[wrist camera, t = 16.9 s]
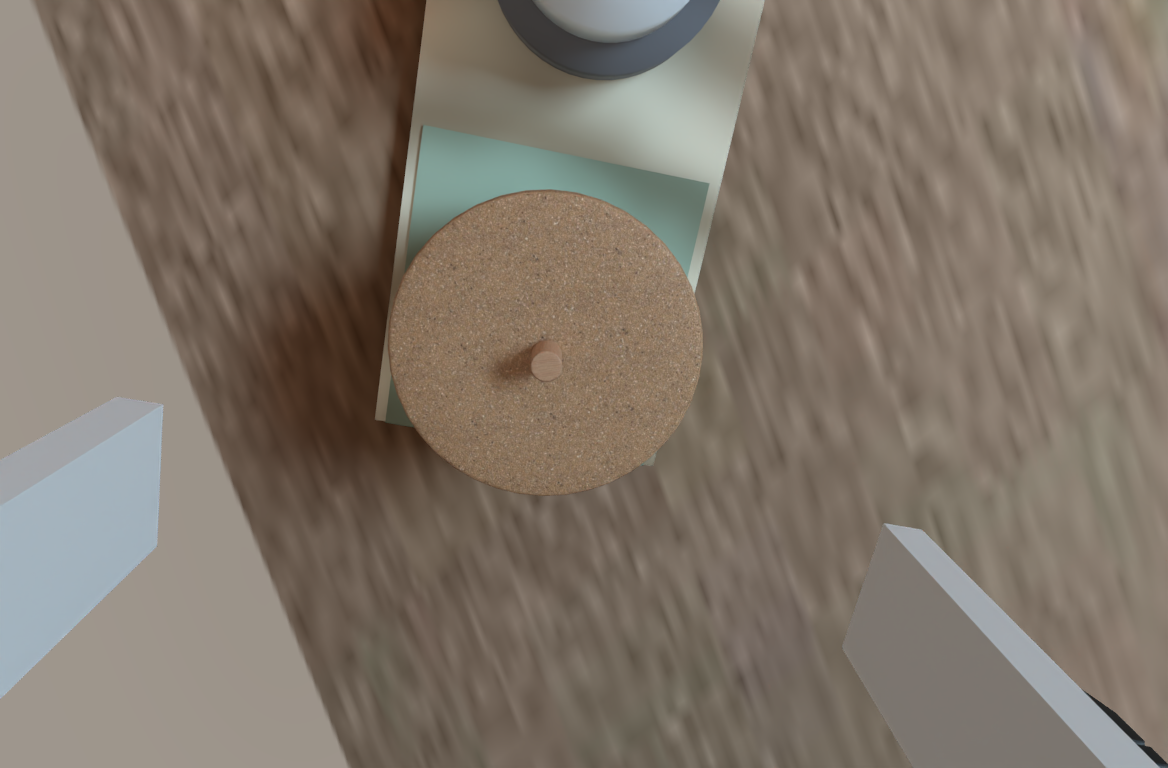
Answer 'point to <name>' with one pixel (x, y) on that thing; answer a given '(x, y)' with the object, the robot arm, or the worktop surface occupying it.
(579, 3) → the dome
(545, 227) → the lidded jar
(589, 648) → the worktop surface
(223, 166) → the worktop surface
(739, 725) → the worktop surface
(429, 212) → the game board
